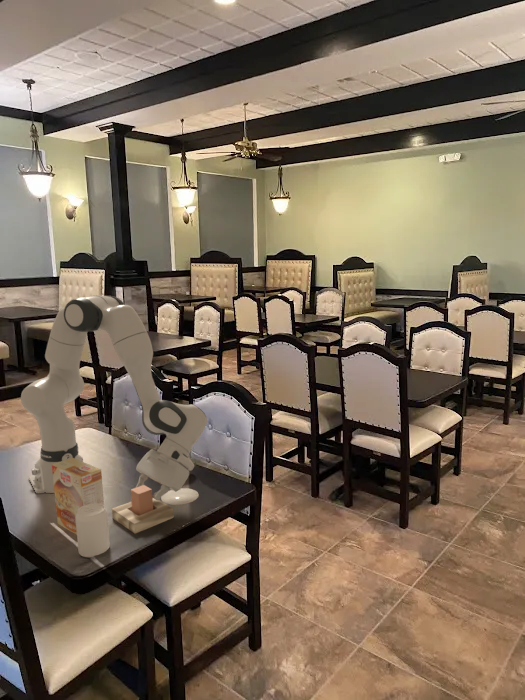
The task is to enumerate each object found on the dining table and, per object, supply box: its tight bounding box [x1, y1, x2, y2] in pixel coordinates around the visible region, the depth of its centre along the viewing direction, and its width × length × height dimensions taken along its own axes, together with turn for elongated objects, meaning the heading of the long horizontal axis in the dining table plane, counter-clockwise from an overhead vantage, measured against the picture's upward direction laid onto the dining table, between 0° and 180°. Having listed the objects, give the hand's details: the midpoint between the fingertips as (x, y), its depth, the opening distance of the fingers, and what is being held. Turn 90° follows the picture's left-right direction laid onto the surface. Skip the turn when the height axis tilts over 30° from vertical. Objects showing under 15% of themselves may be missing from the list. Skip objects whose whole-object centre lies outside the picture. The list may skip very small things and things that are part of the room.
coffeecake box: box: [52, 458, 105, 536], centre depth 154 cm, size 15×7×20 cm, turn 51°
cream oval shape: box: [160, 487, 200, 506], centre depth 173 cm, size 12×12×1 cm
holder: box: [111, 497, 175, 534], centre depth 159 cm, size 13×13×4 cm
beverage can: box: [75, 503, 111, 558], centre depth 143 cm, size 8×8×12 cm
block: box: [130, 484, 153, 516], centre depth 159 cm, size 4×4×9 cm
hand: (146, 494), depth 159 cm, fingers open, 8 cm apart
